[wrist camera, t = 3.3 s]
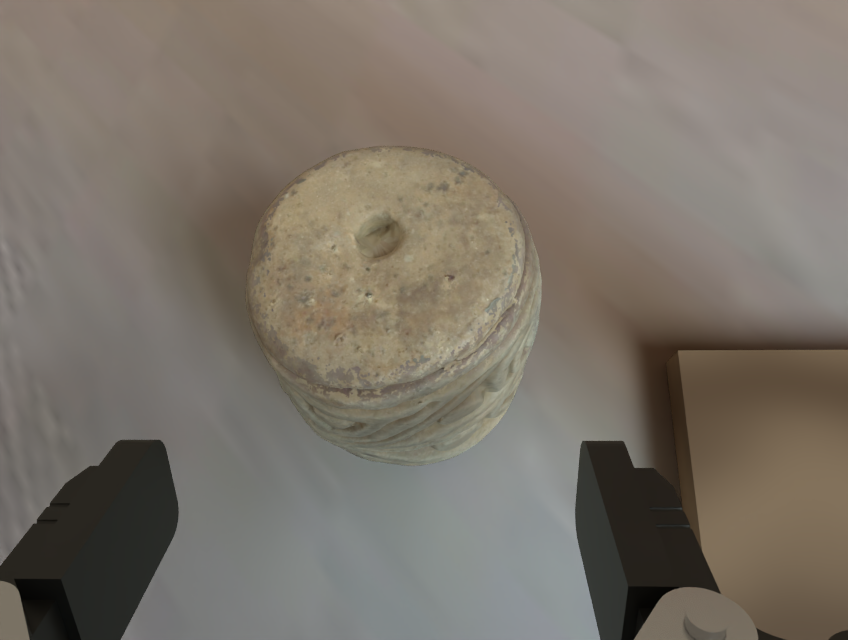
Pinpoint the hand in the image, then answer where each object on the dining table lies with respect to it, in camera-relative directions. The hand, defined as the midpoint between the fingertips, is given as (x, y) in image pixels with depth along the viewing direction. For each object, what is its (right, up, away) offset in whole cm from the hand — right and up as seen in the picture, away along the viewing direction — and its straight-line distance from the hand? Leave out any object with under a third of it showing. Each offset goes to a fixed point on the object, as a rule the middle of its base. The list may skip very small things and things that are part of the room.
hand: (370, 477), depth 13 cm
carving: (+1, 0, +12) cm, 12 cm away
